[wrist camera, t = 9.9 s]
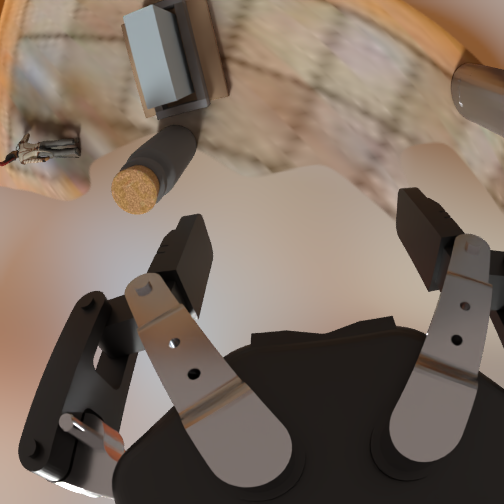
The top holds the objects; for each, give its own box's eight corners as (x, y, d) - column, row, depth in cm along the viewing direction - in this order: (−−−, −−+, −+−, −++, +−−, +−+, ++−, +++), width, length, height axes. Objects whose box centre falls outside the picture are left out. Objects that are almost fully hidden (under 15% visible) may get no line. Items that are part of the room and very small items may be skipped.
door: (175, 14, 25) (152, 4, 19) (194, 92, 32) (176, 100, 25) (150, 23, 26) (123, 16, 19) (170, 99, 32) (147, 109, 26)
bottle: (163, 169, 39) (120, 225, 27) (150, 131, 36) (97, 172, 24) (202, 159, 38) (171, 213, 26) (190, 119, 35) (150, 155, 23)
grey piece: (205, -6, 25) (200, -11, 22) (230, 99, 33) (227, 102, 31) (124, 22, 26) (113, 20, 24) (150, 119, 35) (141, 125, 32)
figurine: (85, 129, 38) (12, 142, 35) (78, 117, 35) (2, 133, 31) (80, 162, 38) (6, 174, 34) (73, 152, 34) (-5, 166, 31)
